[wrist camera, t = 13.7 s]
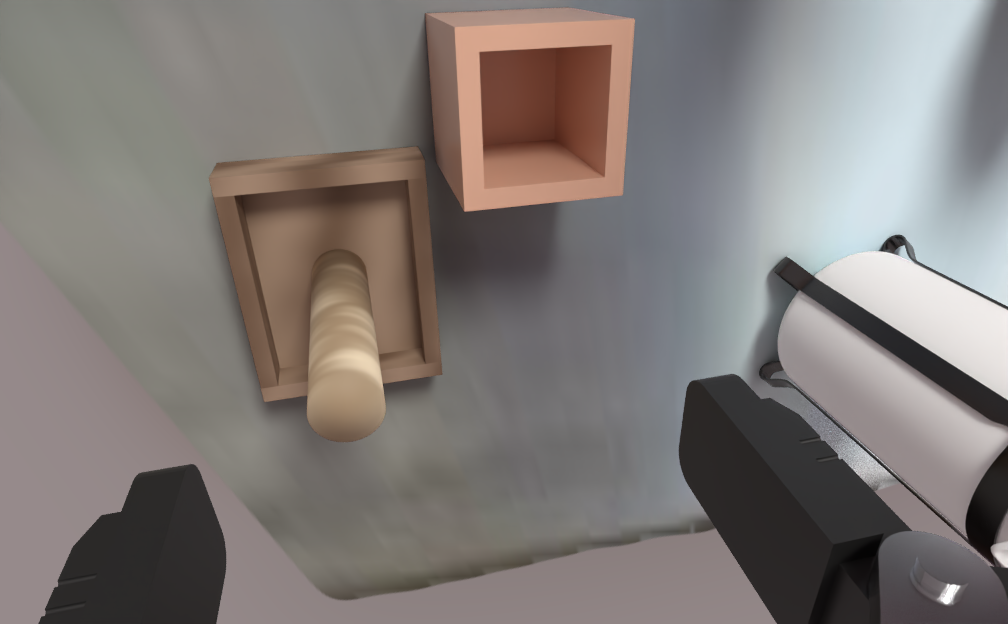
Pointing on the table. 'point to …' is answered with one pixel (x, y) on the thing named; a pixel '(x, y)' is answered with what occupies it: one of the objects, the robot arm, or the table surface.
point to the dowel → (343, 351)
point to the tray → (323, 227)
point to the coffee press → (908, 379)
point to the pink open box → (530, 104)
